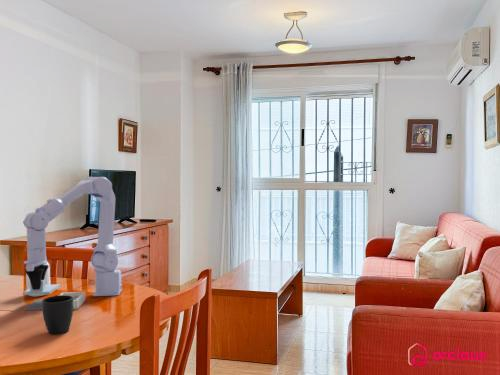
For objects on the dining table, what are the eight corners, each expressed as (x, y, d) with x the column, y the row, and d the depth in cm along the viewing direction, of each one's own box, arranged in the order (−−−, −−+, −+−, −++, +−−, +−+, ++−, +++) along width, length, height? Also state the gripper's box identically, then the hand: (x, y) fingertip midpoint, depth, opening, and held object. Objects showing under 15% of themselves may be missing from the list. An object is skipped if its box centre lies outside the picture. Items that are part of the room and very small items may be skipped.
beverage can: (54, 291, 183) (53, 260, 183) (43, 297, 175) (42, 265, 175) (34, 291, 184) (33, 260, 184) (22, 297, 176) (21, 264, 176)
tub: (85, 299, 171) (85, 291, 171) (77, 309, 159) (77, 300, 159) (62, 300, 170) (62, 292, 170) (52, 310, 158) (52, 301, 158)
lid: (60, 286, 172) (60, 274, 172) (49, 294, 159) (49, 281, 159) (35, 287, 171) (35, 275, 171) (22, 294, 158) (22, 282, 158)
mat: (59, 299, 172) (59, 298, 172) (48, 309, 160) (48, 308, 160) (36, 300, 172) (36, 299, 172) (23, 310, 159) (23, 309, 159)
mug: (72, 321, 146) (71, 291, 146) (74, 333, 135) (73, 300, 135) (43, 325, 143) (42, 294, 143) (43, 338, 132) (42, 304, 132)
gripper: (31, 245, 167) (32, 283, 168) (16, 252, 153) (17, 294, 153) (52, 244, 168) (53, 282, 168) (39, 251, 153) (40, 293, 154)
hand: (37, 288), depth 161 cm, fingers closed on lid, 2 cm apart
